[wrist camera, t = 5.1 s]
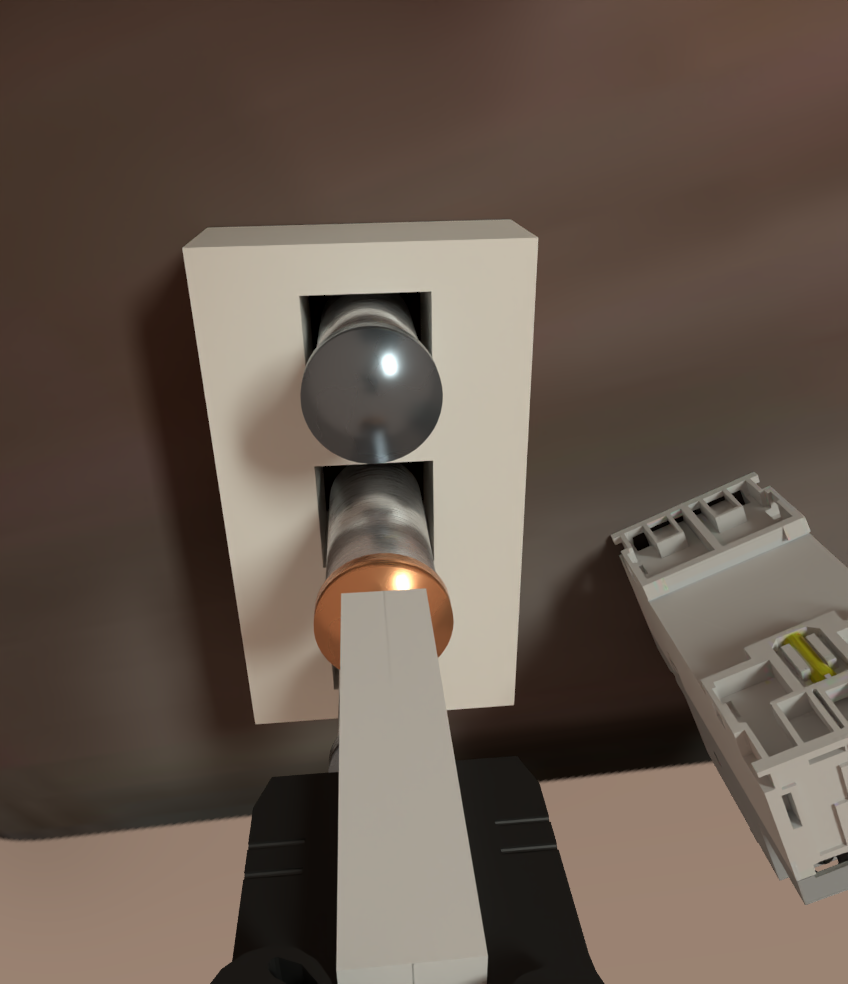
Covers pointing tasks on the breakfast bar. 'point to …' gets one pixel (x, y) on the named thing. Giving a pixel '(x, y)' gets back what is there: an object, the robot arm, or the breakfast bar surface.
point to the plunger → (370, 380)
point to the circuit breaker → (758, 664)
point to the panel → (300, 459)
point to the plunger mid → (377, 549)
